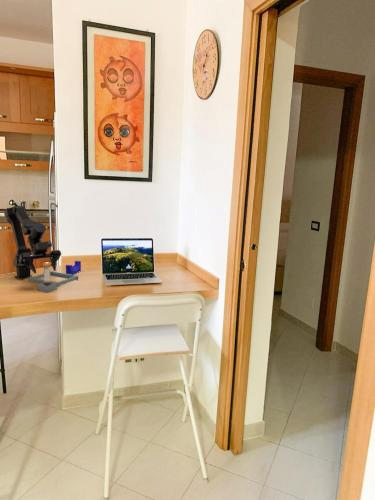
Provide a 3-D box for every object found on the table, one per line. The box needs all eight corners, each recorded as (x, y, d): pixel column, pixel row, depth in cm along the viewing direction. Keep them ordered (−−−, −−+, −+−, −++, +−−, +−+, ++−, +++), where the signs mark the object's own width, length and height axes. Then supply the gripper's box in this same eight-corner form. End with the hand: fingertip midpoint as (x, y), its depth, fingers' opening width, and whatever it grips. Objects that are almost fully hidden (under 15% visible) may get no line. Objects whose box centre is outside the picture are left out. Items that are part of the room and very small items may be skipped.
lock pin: (41, 290, 176) (40, 262, 174) (47, 288, 180) (46, 260, 177) (47, 291, 175) (47, 263, 172) (53, 289, 179) (53, 261, 176)
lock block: (37, 293, 176) (37, 284, 175) (46, 290, 182) (46, 281, 181) (48, 295, 174) (47, 286, 173) (56, 292, 180) (56, 283, 179)
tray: (28, 283, 191) (28, 277, 190) (51, 276, 205) (50, 271, 205) (57, 289, 184) (57, 283, 184) (78, 281, 199) (78, 275, 198)
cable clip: (73, 270, 220) (73, 260, 219) (80, 271, 220) (80, 261, 218) (63, 275, 209) (63, 265, 208) (70, 276, 208) (70, 265, 207)
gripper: (19, 236, 172) (29, 264, 166) (59, 233, 184) (69, 260, 178) (14, 250, 179) (23, 277, 173) (53, 246, 191) (62, 272, 185)
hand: (45, 271), depth 177 cm, fingers open, 9 cm apart
